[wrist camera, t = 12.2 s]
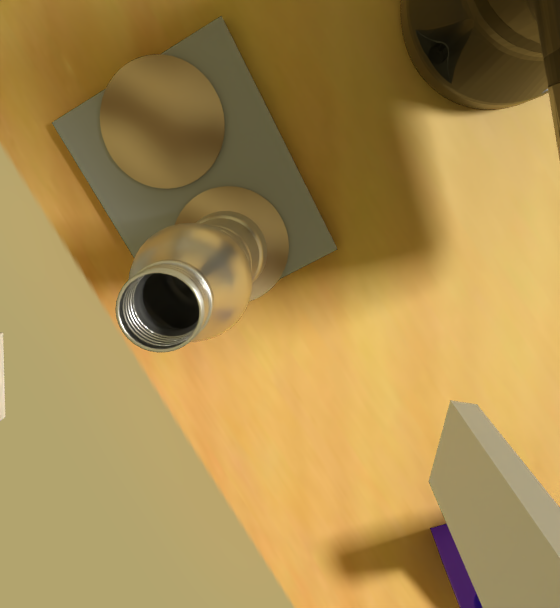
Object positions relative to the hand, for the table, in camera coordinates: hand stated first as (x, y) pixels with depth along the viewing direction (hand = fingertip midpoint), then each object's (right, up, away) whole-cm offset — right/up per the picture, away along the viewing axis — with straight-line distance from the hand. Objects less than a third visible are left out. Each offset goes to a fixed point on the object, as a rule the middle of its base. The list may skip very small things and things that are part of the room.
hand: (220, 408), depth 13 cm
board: (-5, +13, +25) cm, 29 cm away
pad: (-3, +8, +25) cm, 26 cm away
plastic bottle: (-2, +8, +25) cm, 26 cm away
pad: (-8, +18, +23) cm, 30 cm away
